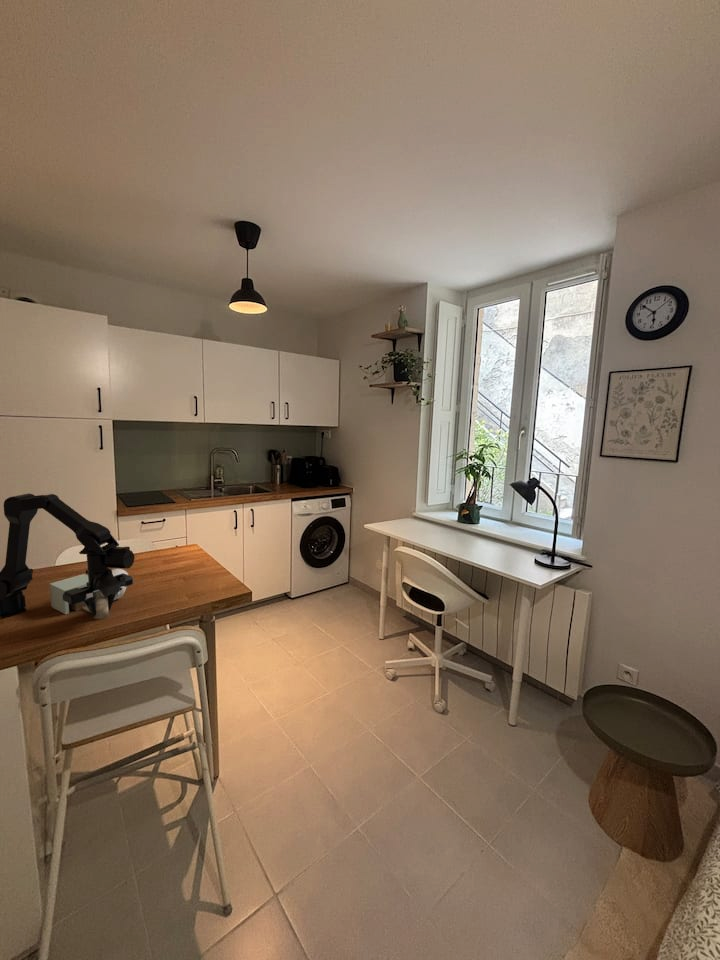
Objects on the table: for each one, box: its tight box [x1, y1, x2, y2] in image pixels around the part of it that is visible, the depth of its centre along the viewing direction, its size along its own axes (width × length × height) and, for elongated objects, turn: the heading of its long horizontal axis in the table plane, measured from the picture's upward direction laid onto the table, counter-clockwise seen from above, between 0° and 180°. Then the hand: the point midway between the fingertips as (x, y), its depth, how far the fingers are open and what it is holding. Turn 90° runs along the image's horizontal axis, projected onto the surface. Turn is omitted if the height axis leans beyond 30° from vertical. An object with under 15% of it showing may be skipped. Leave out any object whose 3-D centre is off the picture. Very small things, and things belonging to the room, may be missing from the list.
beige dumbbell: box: [69, 588, 110, 620], centre depth 131 cm, size 5×18×6 cm, turn 60°
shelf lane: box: [49, 573, 100, 615], centre depth 135 cm, size 10×10×8 cm
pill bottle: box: [99, 568, 129, 602], centre depth 143 cm, size 8×8×15 cm
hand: (101, 612), depth 128 cm, fingers closed on beige dumbbell, 4 cm apart
